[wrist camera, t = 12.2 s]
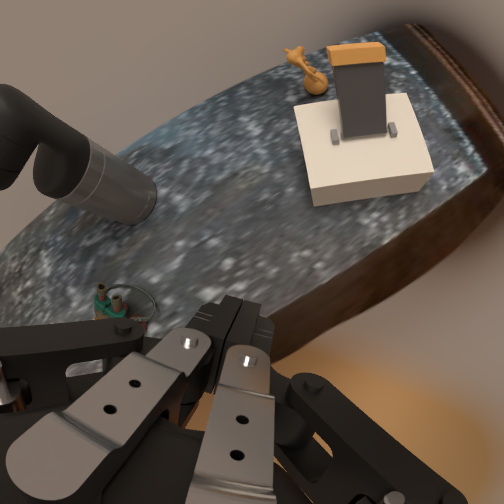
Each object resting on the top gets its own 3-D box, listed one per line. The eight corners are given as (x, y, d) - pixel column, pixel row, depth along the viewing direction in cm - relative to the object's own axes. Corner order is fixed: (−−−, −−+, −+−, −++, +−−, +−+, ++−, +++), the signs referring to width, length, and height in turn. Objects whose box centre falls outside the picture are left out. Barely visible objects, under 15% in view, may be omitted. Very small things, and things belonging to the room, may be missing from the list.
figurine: (341, 100, 45) (341, 52, 33) (311, 117, 46) (304, 70, 34) (311, 70, 47) (304, 22, 35) (282, 85, 48) (269, 38, 36)
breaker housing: (418, 191, 40) (437, 168, 32) (313, 206, 44) (309, 185, 35) (397, 121, 42) (407, 88, 34) (299, 134, 46) (292, 101, 37)
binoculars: (124, 297, 52) (83, 326, 44) (123, 254, 47) (76, 281, 39) (164, 324, 49) (123, 359, 41) (168, 281, 45) (120, 316, 36)
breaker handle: (389, 137, 34) (384, 46, 25) (343, 142, 35) (330, 51, 26) (384, 128, 35) (378, 42, 26) (339, 134, 36) (326, 46, 27)
